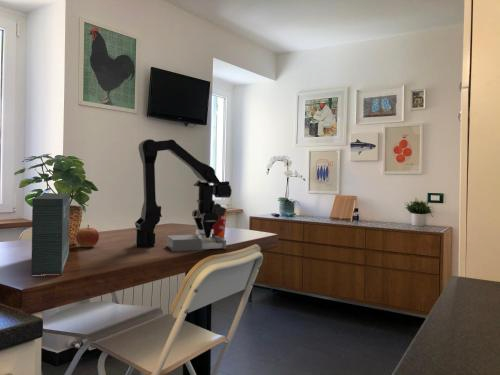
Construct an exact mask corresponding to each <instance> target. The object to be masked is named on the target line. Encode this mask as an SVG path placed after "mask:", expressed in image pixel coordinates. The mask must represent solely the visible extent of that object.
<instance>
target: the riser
mask: <svg viewBox="0 0 500 375" xmlns="http://www.w3.org/2000/svg"><path fill="white" fill-rule="evenodd" d="M198 238H200V239H201V240H212V235H210V237H209V238H206V235H198Z"/></svg>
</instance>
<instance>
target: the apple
mask: <svg viewBox="0 0 500 375" xmlns="http://www.w3.org/2000/svg"><path fill="white" fill-rule="evenodd" d="M99 233H100V232H98V230H97V229H96V228H93V227H90V225H89V224H87V227H80V228H79V229H78V230H77V231H76V233H75V241H76V243H77V245H78V246H80V247H81V248H82V247H83V248H91V247H94V246H96V245H97V243H98V242H99V240H100V234H99Z"/></svg>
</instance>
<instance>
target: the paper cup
mask: <svg viewBox="0 0 500 375" xmlns="http://www.w3.org/2000/svg"><path fill="white" fill-rule="evenodd" d="M220 205H221V207H223V208H226V212H225V215H224V216H222V215H219V214H218V213H217V214H218V215H219V221H218V222H216V223H215V224H214V225H213V227H212V230H214V232H213V235H211V238H214V239H215V236H218V237H220V238H222V239H224V238H225V235H226V222H227V221H226V220H227V212H228V211H227V210H228V207H227V205H226V204H225V205H224V204H223V205H222V204H220Z"/></svg>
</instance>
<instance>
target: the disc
mask: <svg viewBox="0 0 500 375" xmlns="http://www.w3.org/2000/svg"><path fill="white" fill-rule="evenodd" d="M213 232H214V230H211V233H210V235H211V236H212V235H213ZM195 235H196V236H197V235H198V236H199V235H205V232H204V229H198V228H196V229H195Z"/></svg>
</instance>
